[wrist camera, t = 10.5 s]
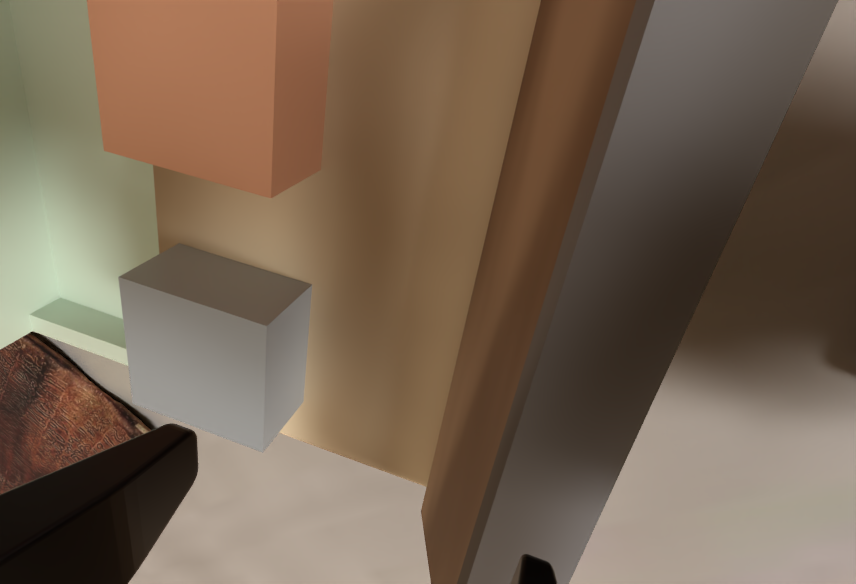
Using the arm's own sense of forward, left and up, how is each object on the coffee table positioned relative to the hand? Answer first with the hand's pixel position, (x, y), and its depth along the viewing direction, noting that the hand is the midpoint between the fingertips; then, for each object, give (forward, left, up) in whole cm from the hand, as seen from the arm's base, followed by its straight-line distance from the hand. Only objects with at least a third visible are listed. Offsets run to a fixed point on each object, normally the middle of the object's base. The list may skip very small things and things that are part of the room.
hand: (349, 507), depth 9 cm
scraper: (-1, 0, -8) cm, 8 cm away
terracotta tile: (+7, -4, -8) cm, 11 cm away
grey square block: (+7, +4, -8) cm, 11 cm away
